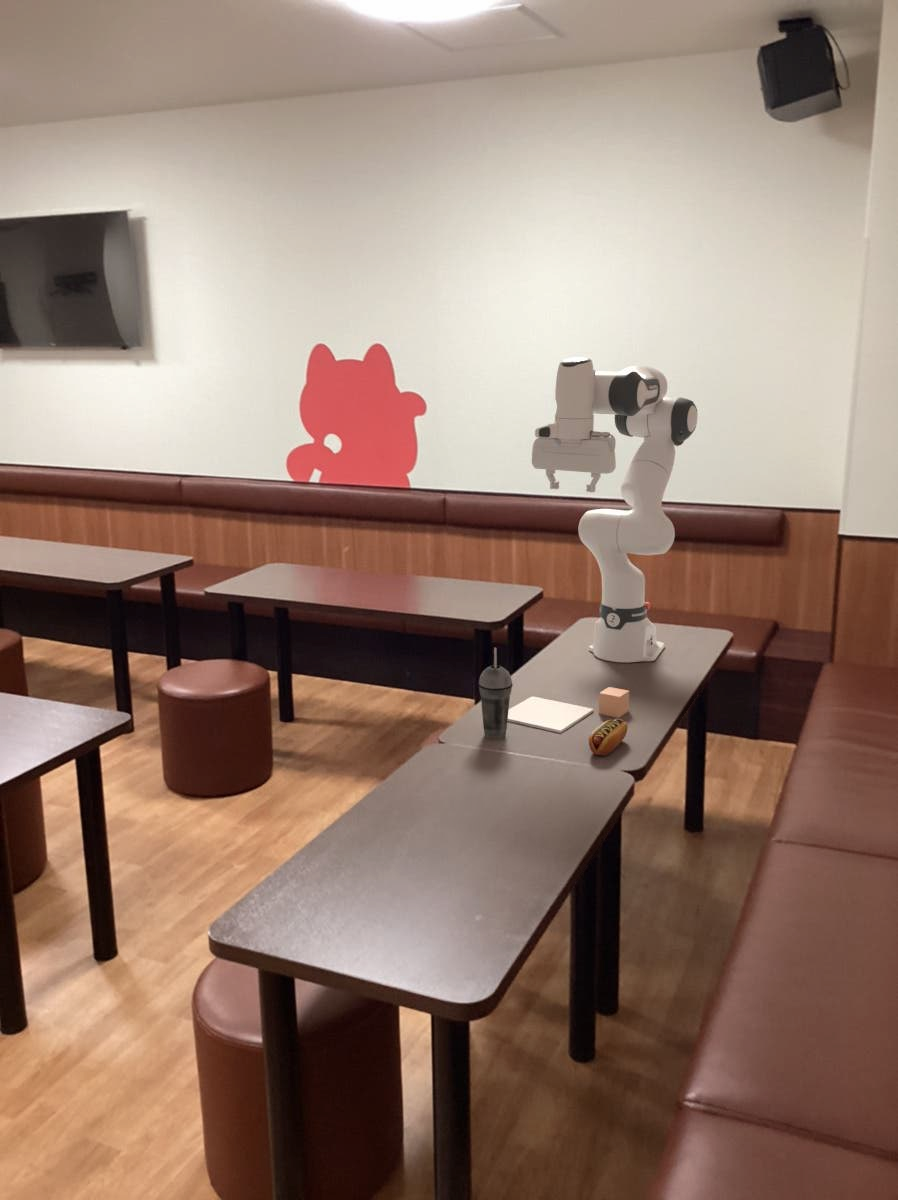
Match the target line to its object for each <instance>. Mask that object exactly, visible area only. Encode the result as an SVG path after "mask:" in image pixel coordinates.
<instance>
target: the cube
mask: <svg viewBox="0 0 898 1200" xmlns="http://www.w3.org/2000/svg"><path fill="white" fill-rule="evenodd" d="M598 694H599V695H598V696H599V698H598V715H599V714H600V715H604V716H608V717H609V716H610V717H613V718H621V717H622V716H624V715H625V714H627V713H628V712H629V705H630V704H629V703H630V702H629V701H630V691H629V690H626V689H622V688H616V687H612V686H608V687H607V688H604V689H603V690H602V691H600V692H599V693H598Z"/></svg>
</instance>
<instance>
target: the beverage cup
mask: <svg viewBox="0 0 898 1200" xmlns="http://www.w3.org/2000/svg"><path fill="white" fill-rule="evenodd" d="M497 650H498V649H497V647H494V648H493V655H494V656H493V665H490V666H487V667H486V668H485V669H484V670H483V671H482V673H481V674H480V676H479V679H478V684H477V685H478V689H479V694H480V701H481V713H482V723H483V725H482V727H483V731H484V733H483V734H484V738H486V739H488V740H494V741H495V740H496V741H497V740H503V739H505V738H506V735H507V734H506V733H507V729H508V721H507V720H508V710H509V709H510V708H509V707H510V701H511V700H510V698H511V694H512V688H513V685H514V684H513V681H512V677H511V674H510V673H509V671H508V670H507V669H506V668H505V667H503V666H501V665H497V664H498V663H497V661H498V659H497V658H498V657H497V652H498V651H497Z"/></svg>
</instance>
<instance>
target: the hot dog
mask: <svg viewBox="0 0 898 1200" xmlns="http://www.w3.org/2000/svg"><path fill="white" fill-rule="evenodd" d="M628 727H629V726H628V722H626V721H625V720H624V719H622V718H621V717H619V718H618V717H615V718H614V719H607V720H605V721H604V722H603V723H600V725H599V726H597V727H596V728H595V729H594V730H593V731H591V733H590V735H589V737H588V746H589V749H590V750H591V752H592V754H595V755H598V756H607V755H608V754H610V753H612V752H613V751H614V750H615V749H616V748H617V747H618V746H619V745H620V744H621V743H622V741H623V740H624V739H625V737H626V736H627V733H628Z"/></svg>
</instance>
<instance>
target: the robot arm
mask: <svg viewBox="0 0 898 1200" xmlns="http://www.w3.org/2000/svg"><path fill="white" fill-rule="evenodd" d="M667 392H668V380H667V378H666V376H665V375H664V374H663V372H662V371H660V370H658V369H656V368H654V367H651V366H647V365H633V366H628V367H625V368H623V369H620V370H619V371H597V370H595V369H594V364H593V360H592V359H591V358H588V357H583V356H581V357H580V356H579V357H578V356H577V357H569V358H566V359H563V360H561V361H560V362H559V364H558V367H557V373H556V377H555V390H554V393H555V395H554V396H555V397H554V399H555V401H556V410H555V415H554V422H552V423H548V424H547V425H544V426H541V427H537V428H535V430H534V436H535V437H536V439H534V442H533V443H532V451H531V465H532V467H533V468H534V469H536V470H537V469H538V470H545V476H546V477H547V479H548V481H549V489H550V490H559V488H560V481H559V480H556V477H555V474H556V471H562V472H563V471H564V472H577V473H581V472H582V473H590V478H592V480H591V481H590V483H587V484H586V490H585V492H586V493H596V485H597V484H598V482H599V480H600V478H601V476H602V475H601V474H607V475H608V474H612V473H613V472H614V471H615V470H616V466H617V465H616V464H617V463H616V452H615V451H616V450H615V449H616V438H615V436H613V434H611V433H610V432H608V431H596V430H595V431H594V424H595V422H594V418H595V417H594V416H595V415H594V414H597V415H599V414H600V415H614V425H615V428H616V429H617V431H618V433H619V434H621V435H624V436H626V437H631V438H632V437H637V438H643V442H642V443H641V445H640V446H639V447H638V448H637V451H636V452H635V455H634V456H633V458H632V460H631V461H630V463H629V464H630V465H629V467H628V469H627V471H626V473H625V476H624V479H623V481H622V484H621V487H620V491H621V492H620V493H621V496H622V498H623V500H624V501H625V502H626V504H627V505H628V506H630V507H631V508H630V510H629V509H627V510H624V509H613V508H599V509H597V508H596V509H592V510H588V511H586V512H585V513H584V514H583V515H582V517H581V518H580V520H579V524H578V528H577V529H578V530H577V531H578V536H579V540H580V541H581V542H582V544H583V545H584V546H586V547H587V548H588V550H589V551H590V552H591V553H592V555H593V556H594V558H595V560H596V562H597V564H598V568H599V570H600V571H599V572H600V574H601V591H602V592H601V602H600V603H599V617H600V618H598V619H597V620H596V621H595V623H594V633H593V641H592V644H590V645H589V646H588V651H590V652H591V653H593V654H594V656H595V657H596V658H598V659H600V660H603V661H609V662H614V663H638V662H653V661H655V660H656V659H657V658H658V656H660V654H661V652H662V651H663V650H664V648H665V647H666V646H665V643H664V642H662V641H659V640H657V627H656V626H655V624H654V623H652V622H651V620H650V619H649V618H648V613H647V611H649V610H650V608H651V602H649V601H646V602H645V596H646V594H645V592H646V591H645V589H646V577H645V575H644V573H643V571H642V570H641V569H639V568H638V567H636V566H635V565H634V564H633V563H632V562H631V561H630V559H629V557H628V554H633V555H641V556H655V555H664V554H666V553H667V552H668V551H669V550H670V549H671V547H672V546H673V544H674V541H675V537H676V535H675V534H676V533H675V532H676V531H675V527H674V524H673V522H672V521H671V519H670V518H669V517H668V516H667V515H666V514H665V513H664V510H663V508H662V507H663V506H662V502H663V498H664V495H665V491H666V489H667V485H668V483H669V482H670V481H669V480H670V477H671V475H672V472H673V467H674V464H675V459H676V448H675V446H676V447H679V446H681V445H683V444H684V442H685V441H686V440H688V439H689V438H690V437H691V436H692V434H693V433H694V432H695V430H696V429H697V424H698V408H697V406H696V405H695V403H694V401H693V400H691V399H688V398H684V397H678V398H677V397H671V396H666V394H667Z"/></svg>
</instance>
